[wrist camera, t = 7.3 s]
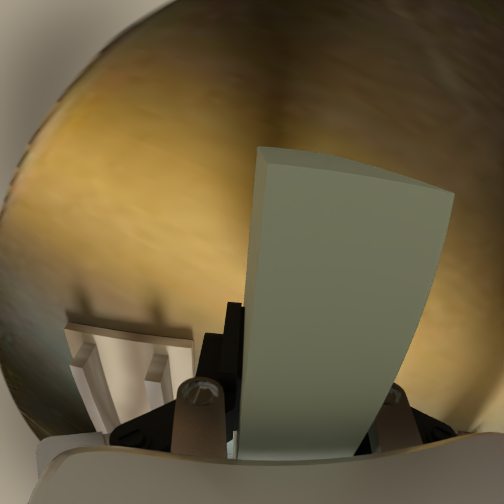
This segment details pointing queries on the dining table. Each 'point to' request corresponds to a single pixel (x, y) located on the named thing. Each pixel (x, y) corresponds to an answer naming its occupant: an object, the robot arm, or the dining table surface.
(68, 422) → the dining table surface
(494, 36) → the dining table surface
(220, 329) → the dining table surface
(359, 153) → the dining table surface
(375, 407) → the door panel
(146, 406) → the track
